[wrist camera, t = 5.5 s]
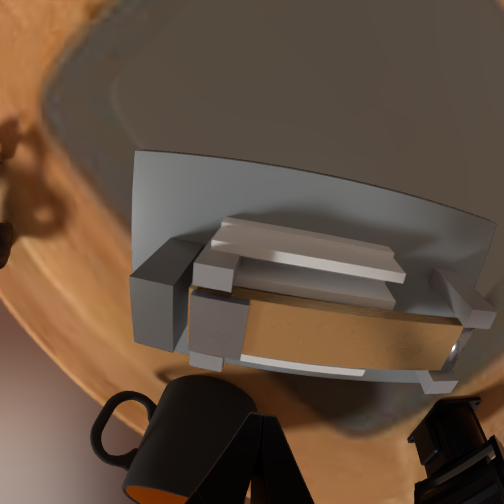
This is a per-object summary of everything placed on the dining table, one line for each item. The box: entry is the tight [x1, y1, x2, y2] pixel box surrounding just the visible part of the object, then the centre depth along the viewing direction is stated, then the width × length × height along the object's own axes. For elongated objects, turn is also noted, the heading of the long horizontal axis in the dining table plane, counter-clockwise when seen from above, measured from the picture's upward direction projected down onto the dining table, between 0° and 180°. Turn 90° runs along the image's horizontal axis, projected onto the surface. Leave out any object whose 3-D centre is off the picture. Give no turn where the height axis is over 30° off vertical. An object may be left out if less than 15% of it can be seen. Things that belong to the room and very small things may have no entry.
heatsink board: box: [129, 150, 498, 394], centre depth 15 cm, size 22×13×6 cm, turn 82°
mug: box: [90, 376, 257, 504], centre depth 18 cm, size 8×12×10 cm
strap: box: [187, 282, 475, 371], centre depth 13 cm, size 15×3×2 cm, turn 82°
